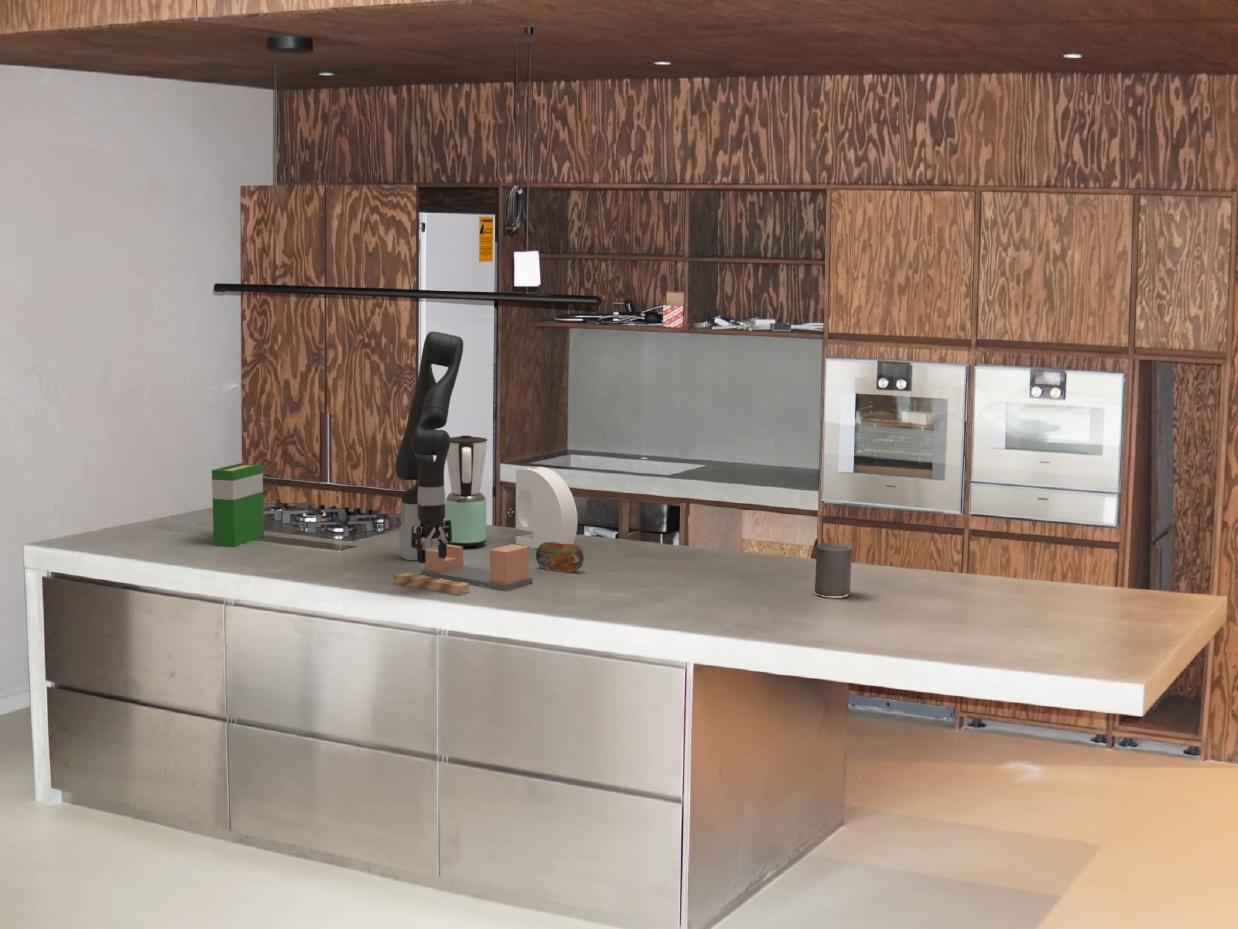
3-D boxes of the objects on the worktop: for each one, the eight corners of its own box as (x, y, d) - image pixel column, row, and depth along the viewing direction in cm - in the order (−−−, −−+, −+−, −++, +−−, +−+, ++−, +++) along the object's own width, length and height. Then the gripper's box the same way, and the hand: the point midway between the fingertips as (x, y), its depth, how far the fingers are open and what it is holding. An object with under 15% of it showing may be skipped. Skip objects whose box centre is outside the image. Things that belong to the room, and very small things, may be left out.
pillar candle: (807, 592, 390) (809, 539, 387) (838, 589, 393) (840, 536, 391) (826, 600, 381) (828, 546, 379) (857, 597, 385) (859, 543, 382)
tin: (535, 568, 415) (535, 540, 414) (540, 566, 418) (541, 539, 417) (579, 574, 408) (580, 546, 407) (585, 572, 411) (585, 544, 410)
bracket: (530, 542, 455) (530, 465, 452) (577, 551, 441) (577, 471, 438) (515, 545, 450) (515, 467, 447) (562, 554, 436) (562, 474, 433)
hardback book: (243, 535, 459) (241, 462, 456) (263, 537, 457) (262, 463, 454) (213, 545, 442) (211, 470, 439) (234, 547, 440) (232, 471, 437)
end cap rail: (420, 575, 404) (420, 539, 402) (448, 568, 414) (448, 533, 412) (505, 590, 387) (506, 553, 385) (532, 583, 397) (532, 546, 395)
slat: (393, 585, 394) (393, 574, 393) (403, 582, 397) (403, 572, 396) (459, 597, 380) (459, 586, 380) (469, 594, 384) (469, 583, 383)
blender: (443, 540, 455) (443, 433, 450) (485, 540, 457) (485, 432, 452) (445, 552, 436) (445, 440, 431) (489, 551, 439) (489, 440, 434)
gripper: (437, 497, 393) (438, 555, 395) (403, 504, 381) (404, 563, 383) (458, 500, 389) (459, 557, 391) (424, 506, 377) (425, 566, 379)
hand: (432, 560), depth 387 cm, fingers open, 8 cm apart
